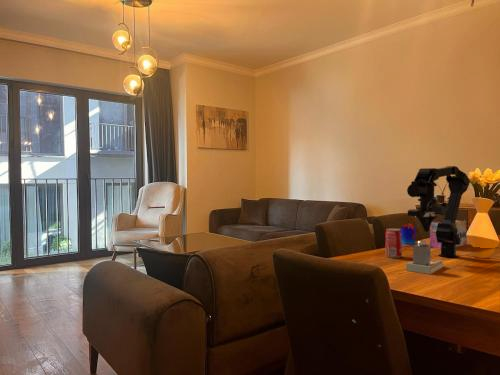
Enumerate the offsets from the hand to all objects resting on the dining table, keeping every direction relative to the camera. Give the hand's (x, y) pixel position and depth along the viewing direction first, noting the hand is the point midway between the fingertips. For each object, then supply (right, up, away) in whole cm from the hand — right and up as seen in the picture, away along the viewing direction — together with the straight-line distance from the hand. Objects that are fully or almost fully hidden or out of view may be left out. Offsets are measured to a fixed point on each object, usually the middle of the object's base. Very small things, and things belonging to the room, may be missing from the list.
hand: (426, 231), depth 172 cm
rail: (-7, -13, -14) cm, 20 cm away
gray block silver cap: (-10, -12, -17) cm, 23 cm away
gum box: (+28, -12, +37) cm, 48 cm away
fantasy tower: (+8, -12, +40) cm, 43 cm away
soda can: (-11, -13, +9) cm, 20 cm away
